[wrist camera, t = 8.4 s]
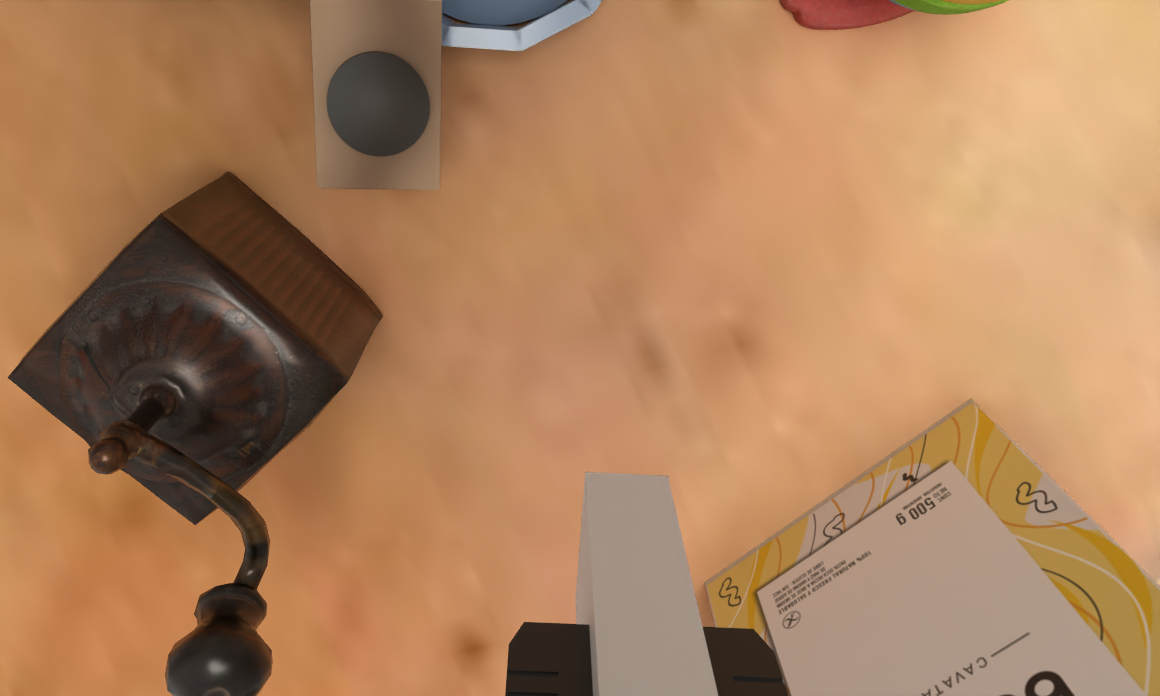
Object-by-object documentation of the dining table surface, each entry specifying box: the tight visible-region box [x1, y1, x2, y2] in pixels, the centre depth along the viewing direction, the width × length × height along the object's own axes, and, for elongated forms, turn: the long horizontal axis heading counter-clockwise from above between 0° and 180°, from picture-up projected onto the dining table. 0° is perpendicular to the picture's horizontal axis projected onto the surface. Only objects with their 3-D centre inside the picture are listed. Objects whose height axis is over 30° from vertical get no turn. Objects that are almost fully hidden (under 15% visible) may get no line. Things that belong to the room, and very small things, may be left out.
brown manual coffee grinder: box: [8, 172, 383, 696], centre depth 39 cm, size 16×11×18 cm
